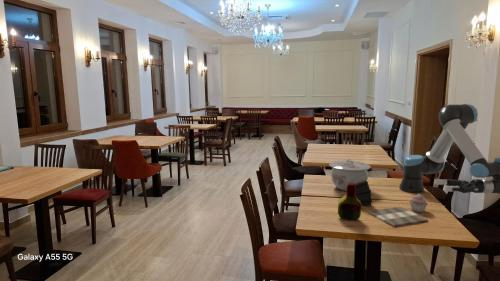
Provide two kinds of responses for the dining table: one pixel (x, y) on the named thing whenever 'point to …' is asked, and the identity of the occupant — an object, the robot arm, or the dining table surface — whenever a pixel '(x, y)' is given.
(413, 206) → the cupcake
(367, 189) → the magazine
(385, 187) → the dining table surface
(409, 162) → the robot arm
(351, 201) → the bottle
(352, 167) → the chamber pot
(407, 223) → the checkered cloth napkin
